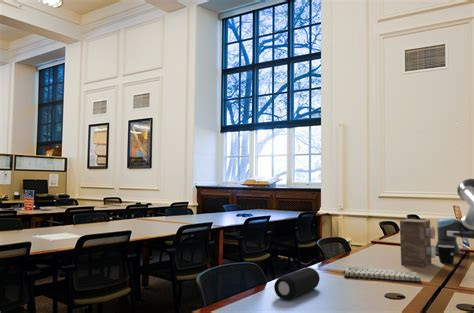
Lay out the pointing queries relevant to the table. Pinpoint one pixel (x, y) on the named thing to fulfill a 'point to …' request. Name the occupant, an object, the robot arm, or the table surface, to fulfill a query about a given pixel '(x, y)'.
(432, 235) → the terracotta key
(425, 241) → the key console
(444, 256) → the mug
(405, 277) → the mechanical keyboard
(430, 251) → the white rounded piece
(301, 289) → the portable speaker
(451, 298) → the table surface
